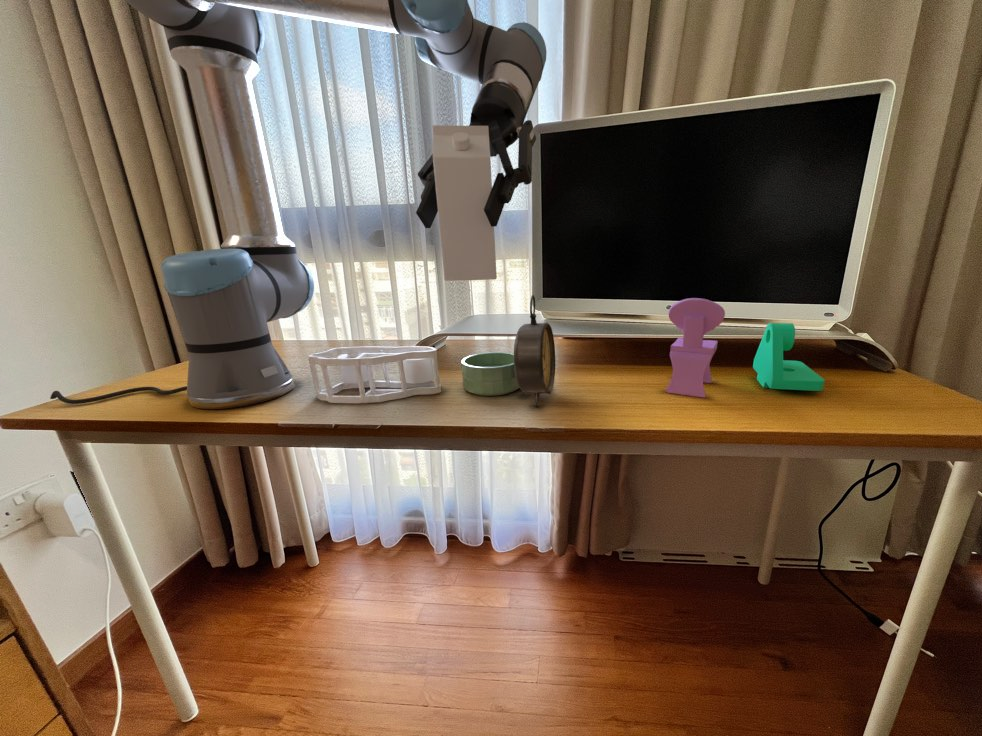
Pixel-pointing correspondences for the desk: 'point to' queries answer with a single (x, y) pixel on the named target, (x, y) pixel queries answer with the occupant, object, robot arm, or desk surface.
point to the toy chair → (693, 345)
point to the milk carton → (464, 201)
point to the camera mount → (782, 362)
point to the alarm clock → (534, 357)
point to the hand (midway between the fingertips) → (455, 219)
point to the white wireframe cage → (360, 373)
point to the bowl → (489, 373)
